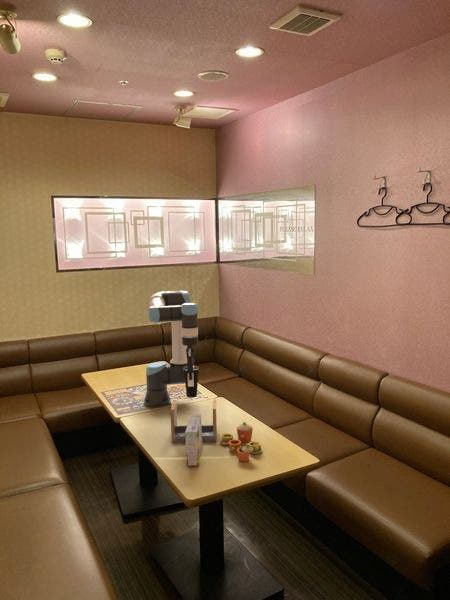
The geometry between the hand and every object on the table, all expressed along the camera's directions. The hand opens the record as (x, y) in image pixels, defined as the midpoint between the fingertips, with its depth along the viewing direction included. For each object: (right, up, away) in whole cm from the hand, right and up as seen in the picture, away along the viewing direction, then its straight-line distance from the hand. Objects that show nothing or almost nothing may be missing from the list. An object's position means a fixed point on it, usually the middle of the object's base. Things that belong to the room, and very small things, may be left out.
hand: (191, 383), depth 228 cm
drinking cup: (0, -6, +1) cm, 6 cm away
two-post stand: (+2, -26, +3) cm, 26 cm away
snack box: (+3, -29, -17) cm, 33 cm away
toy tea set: (+24, -28, -11) cm, 38 cm away
